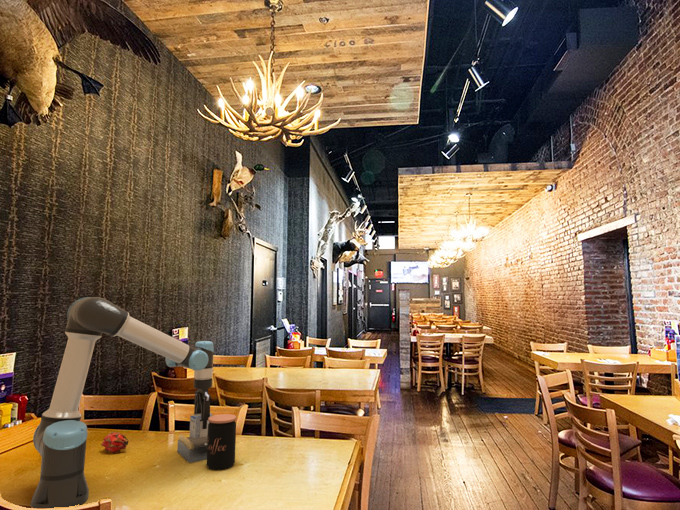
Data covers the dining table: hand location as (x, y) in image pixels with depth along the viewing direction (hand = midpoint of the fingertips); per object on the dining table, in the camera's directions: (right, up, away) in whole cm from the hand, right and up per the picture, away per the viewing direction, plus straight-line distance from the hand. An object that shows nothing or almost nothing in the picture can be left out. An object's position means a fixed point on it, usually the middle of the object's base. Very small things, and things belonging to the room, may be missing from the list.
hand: (201, 434), depth 177 cm
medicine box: (0, -1, 0) cm, 1 cm away
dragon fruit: (-37, -8, +2) cm, 38 cm away
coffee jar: (+12, -6, -14) cm, 20 cm away
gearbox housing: (+1, -8, 0) cm, 8 cm away
